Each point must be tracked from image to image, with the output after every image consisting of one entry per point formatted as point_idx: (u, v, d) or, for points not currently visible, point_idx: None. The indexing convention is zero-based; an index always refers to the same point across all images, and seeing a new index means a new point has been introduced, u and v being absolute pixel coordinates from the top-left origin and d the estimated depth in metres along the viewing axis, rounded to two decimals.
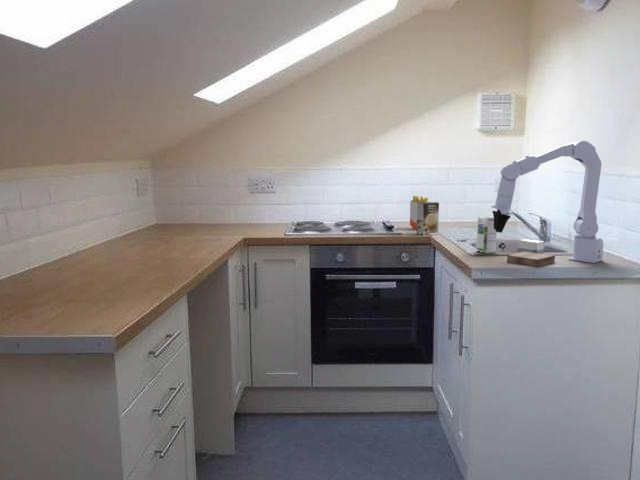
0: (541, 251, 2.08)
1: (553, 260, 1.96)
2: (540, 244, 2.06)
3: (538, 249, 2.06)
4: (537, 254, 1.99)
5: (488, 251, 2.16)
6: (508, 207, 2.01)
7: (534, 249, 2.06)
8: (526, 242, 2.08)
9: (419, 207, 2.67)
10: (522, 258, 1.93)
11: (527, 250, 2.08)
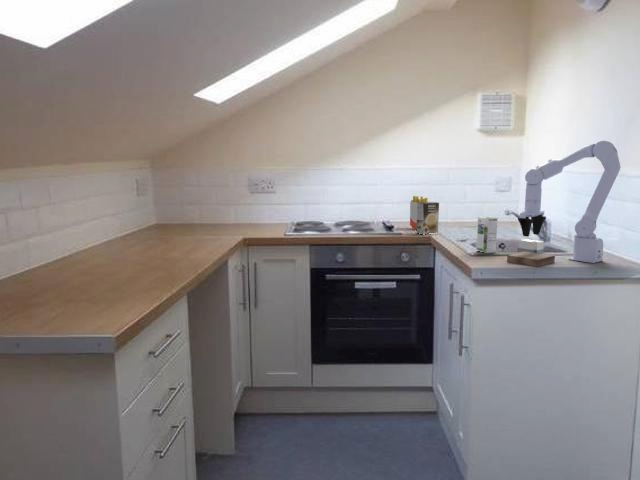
0: (541, 251, 2.08)
1: (553, 260, 1.96)
2: (540, 244, 2.06)
3: (538, 249, 2.06)
4: (537, 254, 1.99)
5: (488, 251, 2.16)
6: (533, 211, 2.05)
7: (534, 249, 2.06)
8: (526, 242, 2.08)
9: (419, 207, 2.67)
10: (522, 258, 1.93)
11: (527, 250, 2.08)
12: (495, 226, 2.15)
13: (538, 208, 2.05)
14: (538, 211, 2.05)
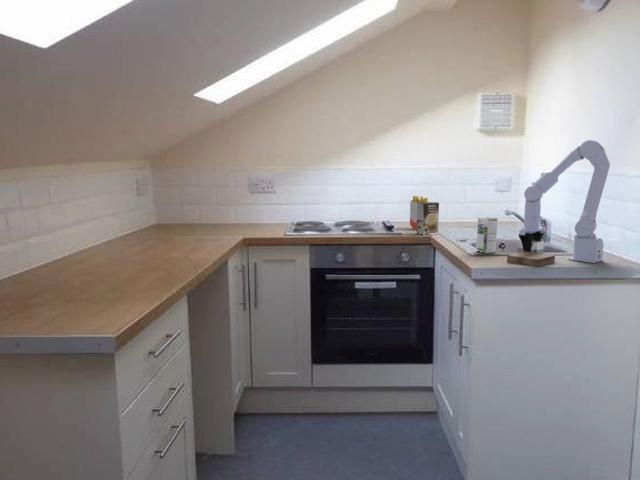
0: (541, 251, 2.08)
1: (553, 260, 1.96)
2: (540, 244, 2.06)
3: (538, 249, 2.06)
4: (537, 254, 1.99)
5: (488, 251, 2.16)
6: (533, 228, 2.06)
7: (534, 249, 2.06)
8: None
9: (419, 207, 2.67)
10: (522, 258, 1.93)
11: None
12: (495, 226, 2.15)
13: (537, 225, 2.06)
14: (537, 228, 2.06)
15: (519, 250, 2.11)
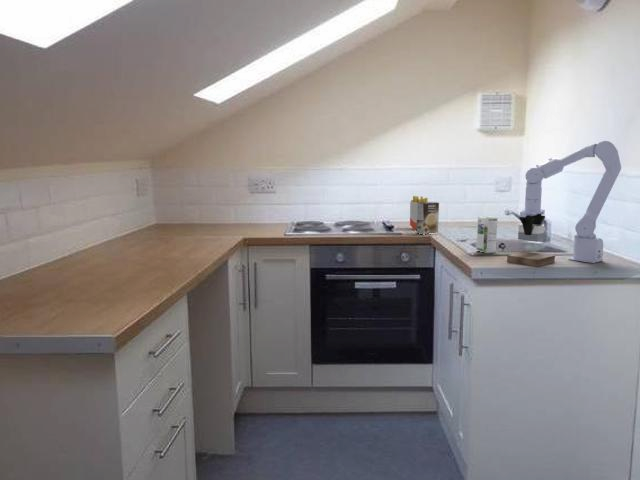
0: (542, 235, 2.06)
1: (553, 260, 1.96)
2: (541, 228, 2.05)
3: (539, 233, 2.04)
4: (537, 254, 1.99)
5: (488, 251, 2.16)
6: (534, 210, 2.04)
7: (535, 233, 2.04)
8: None
9: (419, 207, 2.67)
10: (522, 258, 1.93)
11: None
12: (495, 226, 2.15)
13: (538, 207, 2.04)
14: (538, 210, 2.04)
15: (519, 234, 2.09)
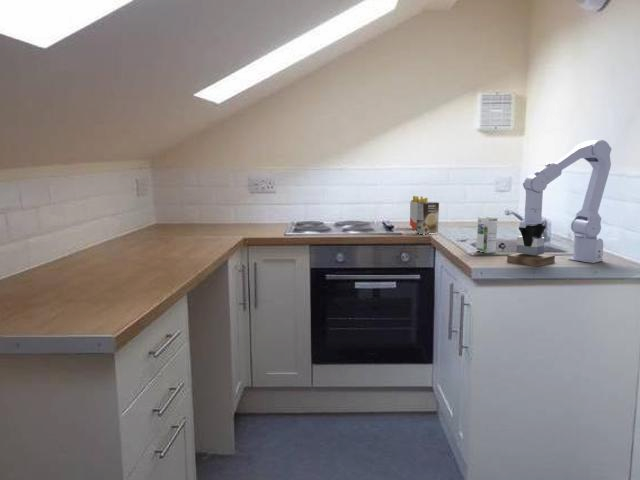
0: (541, 248, 1.95)
1: (553, 260, 1.96)
2: (540, 240, 1.93)
3: (538, 246, 1.93)
4: None
5: (488, 251, 2.16)
6: (534, 220, 1.92)
7: (534, 246, 1.93)
8: None
9: (419, 207, 2.67)
10: (522, 258, 1.93)
11: (527, 247, 1.95)
12: (495, 226, 2.15)
13: (539, 217, 1.92)
14: (539, 220, 1.93)
15: (518, 247, 1.98)
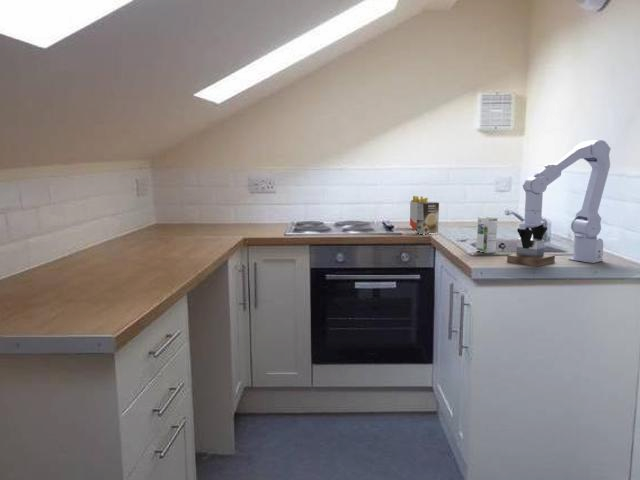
0: (541, 250, 1.95)
1: (553, 260, 1.96)
2: (540, 242, 1.93)
3: (538, 248, 1.93)
4: None
5: (488, 251, 2.16)
6: (534, 222, 1.92)
7: (534, 248, 1.93)
8: None
9: (419, 207, 2.67)
10: (522, 258, 1.93)
11: (527, 249, 1.95)
12: (495, 226, 2.15)
13: (539, 218, 1.92)
14: (539, 222, 1.93)
15: (518, 249, 1.98)
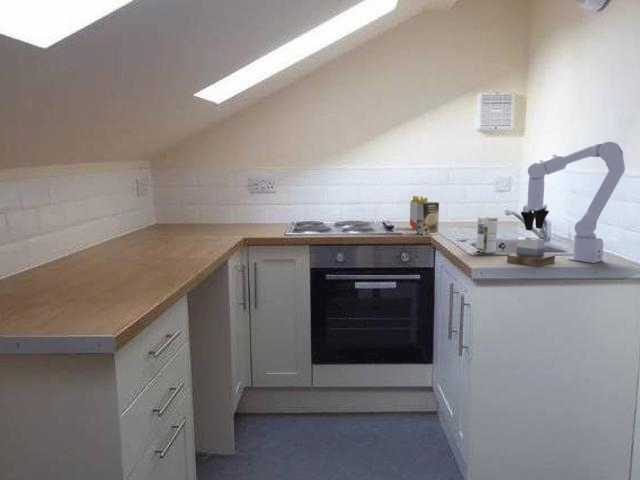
0: (541, 250, 1.95)
1: (553, 260, 1.96)
2: (540, 242, 1.93)
3: (538, 248, 1.93)
4: None
5: (488, 251, 2.16)
6: (536, 205, 2.04)
7: (534, 248, 1.93)
8: (525, 240, 1.95)
9: (419, 207, 2.67)
10: (522, 258, 1.93)
11: (527, 249, 1.95)
12: (495, 226, 2.15)
13: (541, 202, 2.04)
14: (541, 205, 2.04)
15: (518, 249, 1.98)
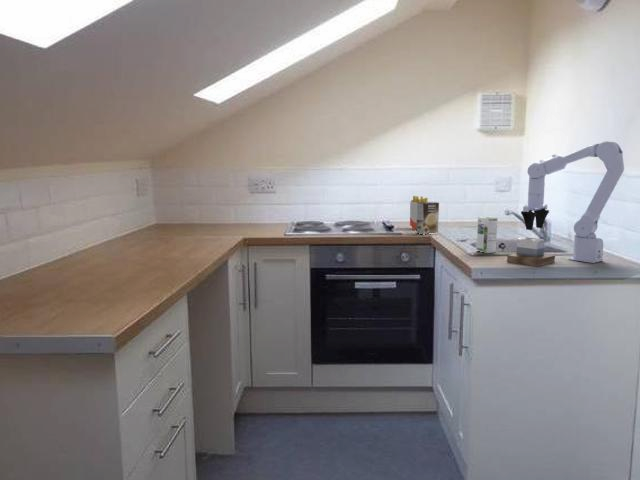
0: (541, 250, 1.95)
1: (553, 260, 1.96)
2: (540, 242, 1.93)
3: (538, 248, 1.93)
4: None
5: (488, 251, 2.16)
6: (537, 205, 2.06)
7: (534, 248, 1.93)
8: (525, 240, 1.95)
9: (419, 207, 2.67)
10: (522, 258, 1.93)
11: (527, 249, 1.95)
12: (495, 226, 2.15)
13: (541, 202, 2.06)
14: (541, 205, 2.06)
15: (518, 249, 1.98)
